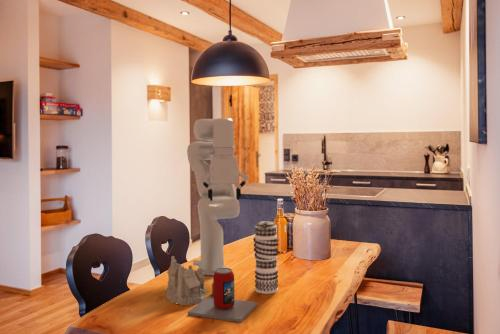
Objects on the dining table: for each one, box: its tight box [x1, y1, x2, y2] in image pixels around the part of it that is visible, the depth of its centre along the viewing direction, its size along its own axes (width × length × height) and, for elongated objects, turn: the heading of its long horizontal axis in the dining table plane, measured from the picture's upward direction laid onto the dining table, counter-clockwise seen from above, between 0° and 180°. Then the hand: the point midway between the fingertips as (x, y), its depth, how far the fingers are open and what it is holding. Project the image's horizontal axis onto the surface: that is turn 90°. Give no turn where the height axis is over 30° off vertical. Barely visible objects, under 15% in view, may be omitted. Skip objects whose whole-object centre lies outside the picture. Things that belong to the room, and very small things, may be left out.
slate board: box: [187, 295, 258, 323], centre depth 144 cm, size 18×15×1 cm
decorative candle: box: [252, 220, 280, 295], centre depth 163 cm, size 9×9×25 cm
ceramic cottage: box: [165, 255, 208, 306], centre depth 158 cm, size 16×16×15 cm
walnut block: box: [211, 281, 214, 297], centre depth 159 cm, size 5×5×5 cm
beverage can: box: [212, 267, 236, 309], centre depth 144 cm, size 7×7×12 cm
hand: (224, 199), depth 162 cm, fingers open, 9 cm apart
